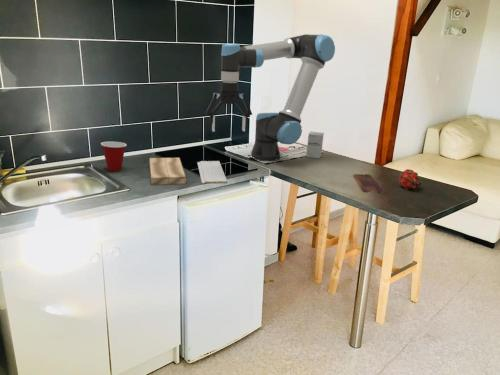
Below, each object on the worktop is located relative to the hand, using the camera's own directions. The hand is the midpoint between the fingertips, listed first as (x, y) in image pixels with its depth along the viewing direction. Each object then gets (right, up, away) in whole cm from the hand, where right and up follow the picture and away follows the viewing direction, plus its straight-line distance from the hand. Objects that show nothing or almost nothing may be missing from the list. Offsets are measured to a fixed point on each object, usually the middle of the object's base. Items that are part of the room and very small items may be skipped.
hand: (228, 131), depth 189 cm
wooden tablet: (+62, -24, 0) cm, 66 cm away
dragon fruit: (+78, -25, -4) cm, 82 cm away
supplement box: (+44, -8, +40) cm, 60 cm away
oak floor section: (-27, -19, -1) cm, 33 cm away
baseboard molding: (-9, -19, +4) cm, 21 cm away
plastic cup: (-50, -17, +1) cm, 53 cm away
